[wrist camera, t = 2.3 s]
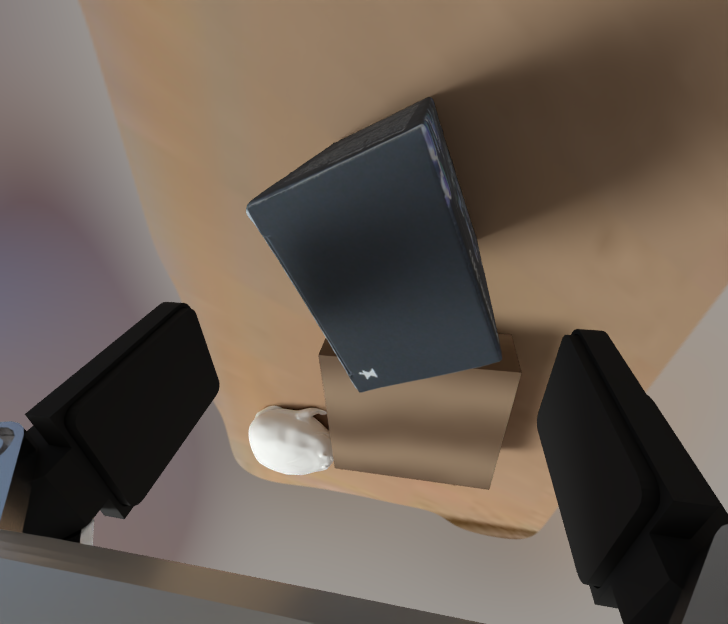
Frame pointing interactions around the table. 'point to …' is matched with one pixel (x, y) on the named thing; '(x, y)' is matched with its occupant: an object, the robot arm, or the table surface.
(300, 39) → the table surface
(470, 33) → the table surface
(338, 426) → the walnut block
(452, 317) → the box
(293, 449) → the garlic
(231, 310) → the table surface
